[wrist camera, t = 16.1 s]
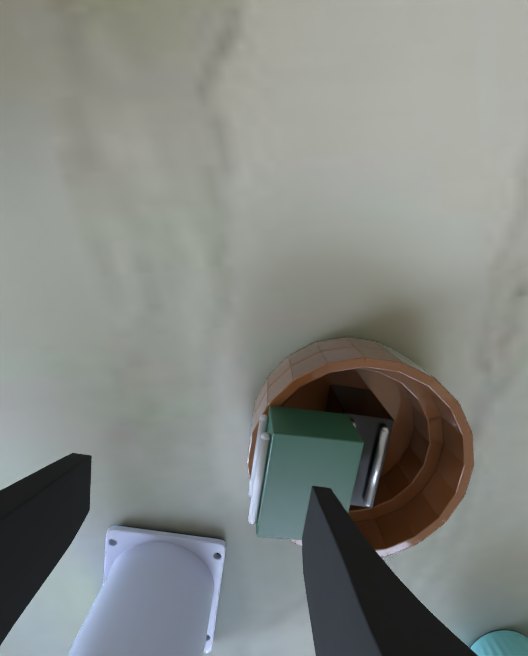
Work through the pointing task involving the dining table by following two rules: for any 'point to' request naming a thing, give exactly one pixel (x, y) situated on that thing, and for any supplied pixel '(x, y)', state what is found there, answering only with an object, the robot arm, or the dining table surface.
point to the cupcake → (501, 644)
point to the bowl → (405, 440)
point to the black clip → (364, 436)
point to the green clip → (300, 467)
